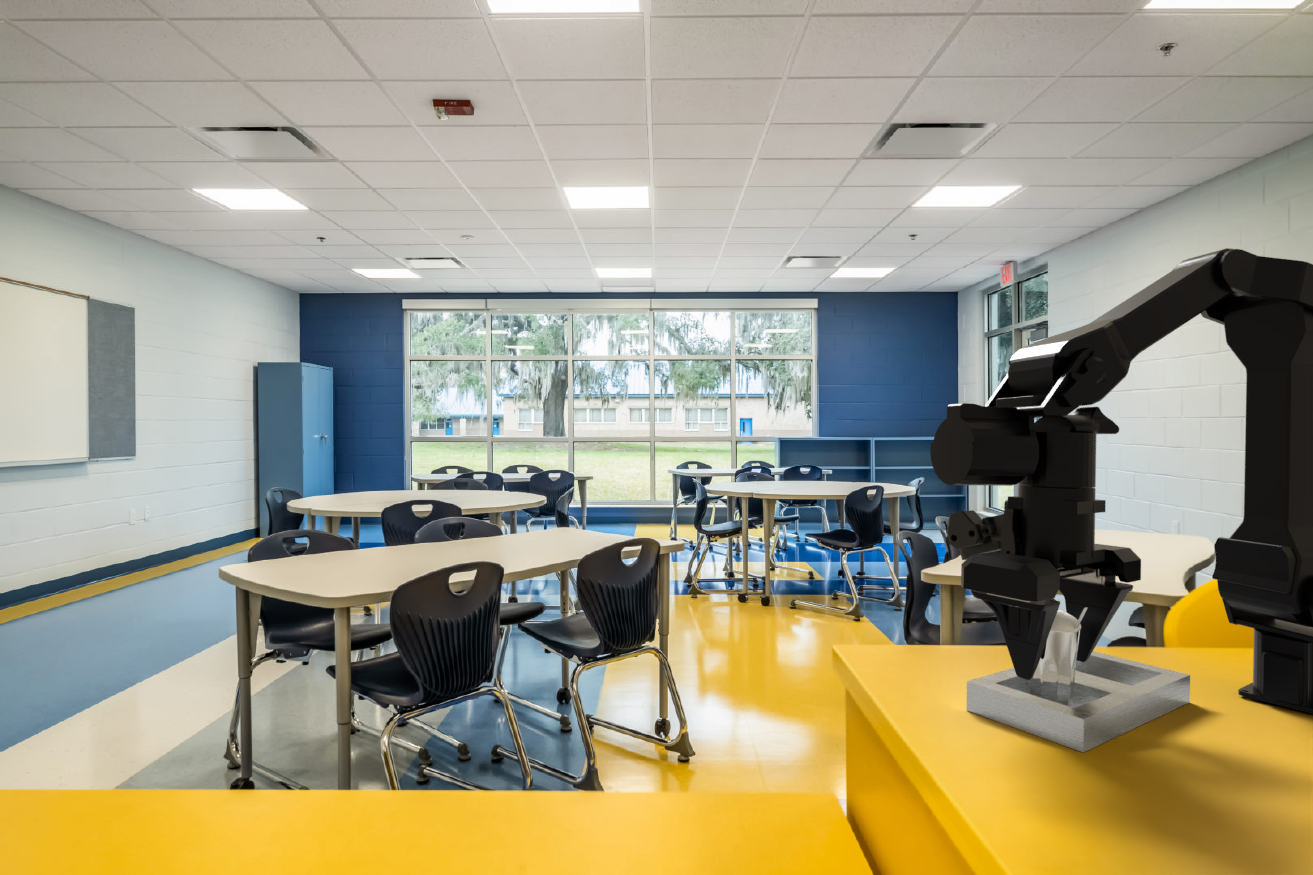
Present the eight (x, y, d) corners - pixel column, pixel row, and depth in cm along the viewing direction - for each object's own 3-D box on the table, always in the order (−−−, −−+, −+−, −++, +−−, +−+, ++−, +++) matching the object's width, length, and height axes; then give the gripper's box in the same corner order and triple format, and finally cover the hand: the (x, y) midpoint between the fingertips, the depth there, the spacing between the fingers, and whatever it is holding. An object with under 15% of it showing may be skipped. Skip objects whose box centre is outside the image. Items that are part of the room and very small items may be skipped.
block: (1079, 672, 71) (1079, 647, 71) (1189, 702, 63) (1190, 674, 63) (966, 710, 60) (967, 681, 60) (1083, 752, 52) (1083, 719, 52)
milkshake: (1066, 733, 55) (1068, 609, 55) (1006, 709, 60) (1008, 595, 60) (1101, 725, 57) (1103, 605, 57) (1040, 702, 62) (1042, 591, 62)
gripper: (1020, 480, 71) (1018, 631, 70) (906, 482, 60) (903, 660, 60) (1144, 487, 61) (1142, 661, 61) (1035, 491, 51) (1031, 701, 51)
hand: (1053, 669), depth 59 cm, fingers open, 9 cm apart
